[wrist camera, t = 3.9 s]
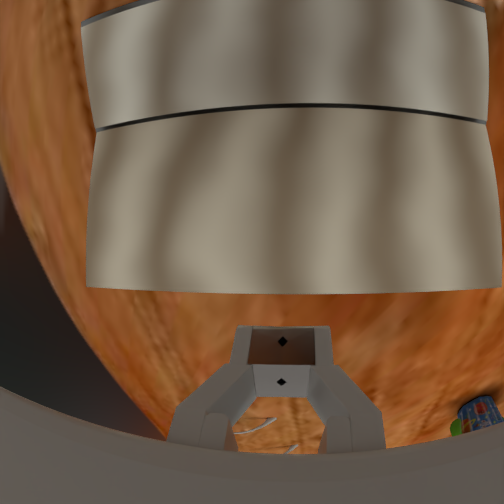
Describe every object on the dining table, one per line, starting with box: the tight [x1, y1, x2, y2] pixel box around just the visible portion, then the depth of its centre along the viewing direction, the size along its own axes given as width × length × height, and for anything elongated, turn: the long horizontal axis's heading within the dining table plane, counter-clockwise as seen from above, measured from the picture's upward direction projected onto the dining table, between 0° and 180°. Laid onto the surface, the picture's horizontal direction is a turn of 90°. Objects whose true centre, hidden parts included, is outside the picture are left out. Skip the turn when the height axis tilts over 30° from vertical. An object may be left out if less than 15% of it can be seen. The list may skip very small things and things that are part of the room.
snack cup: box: [450, 396, 504, 436], centre depth 37 cm, size 16×10×10 cm
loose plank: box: [86, 108, 502, 294], centre depth 20 cm, size 30×12×2 cm
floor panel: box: [81, 0, 489, 132], centre depth 21 cm, size 32×25×2 cm
